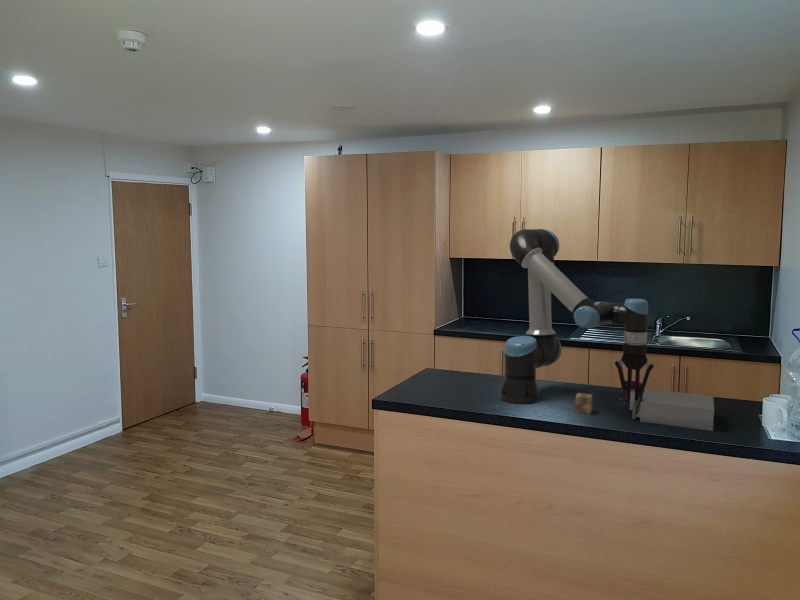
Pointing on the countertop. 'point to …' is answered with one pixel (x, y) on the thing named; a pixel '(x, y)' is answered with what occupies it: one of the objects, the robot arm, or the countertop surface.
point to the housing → (677, 409)
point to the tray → (636, 409)
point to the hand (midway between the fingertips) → (632, 408)
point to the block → (583, 403)
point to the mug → (631, 389)
